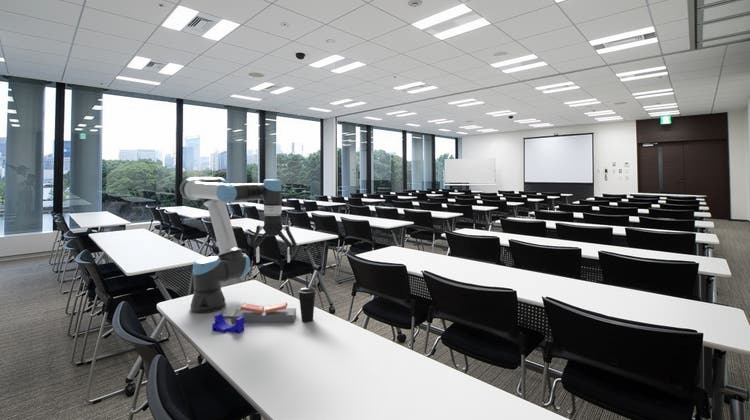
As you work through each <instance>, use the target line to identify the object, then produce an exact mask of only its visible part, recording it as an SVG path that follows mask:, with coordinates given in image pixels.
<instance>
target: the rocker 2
mask: <svg viewBox="0 0 750 420" xmlns="http://www.w3.org/2000/svg"><path fill="white" fill-rule="evenodd" d="M286 308H288V302H287V301H286V302H282V303H277V304H272V305H268V306H266V307H265V308H264V309H265V313H269V312H274V311H278V310H283V309H286Z"/></svg>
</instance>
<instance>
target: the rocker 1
mask: <svg viewBox="0 0 750 420" xmlns="http://www.w3.org/2000/svg"><path fill="white" fill-rule="evenodd" d="M264 309H265V306H262V305H257V304H252V303H247V302H243V303H242V304H241V305H240V310H245V311H250V312H256V313H262V312H263V310H264Z"/></svg>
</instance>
